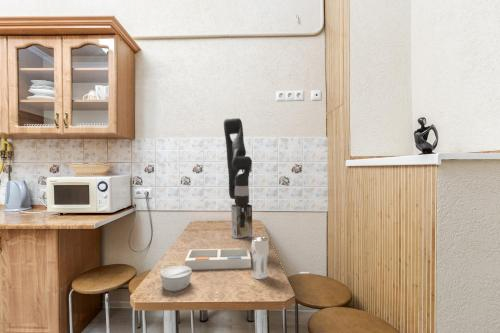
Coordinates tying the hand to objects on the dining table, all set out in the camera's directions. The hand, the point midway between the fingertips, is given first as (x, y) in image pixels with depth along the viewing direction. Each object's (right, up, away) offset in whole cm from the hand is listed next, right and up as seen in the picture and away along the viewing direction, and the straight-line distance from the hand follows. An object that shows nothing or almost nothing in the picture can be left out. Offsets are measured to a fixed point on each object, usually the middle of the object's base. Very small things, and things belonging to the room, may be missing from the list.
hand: (241, 225), depth 129 cm
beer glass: (+8, -14, -30) cm, 34 cm away
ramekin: (-23, -14, -38) cm, 46 cm away
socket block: (-10, -14, -15) cm, 23 cm away
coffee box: (0, -5, 0) cm, 5 cm away
